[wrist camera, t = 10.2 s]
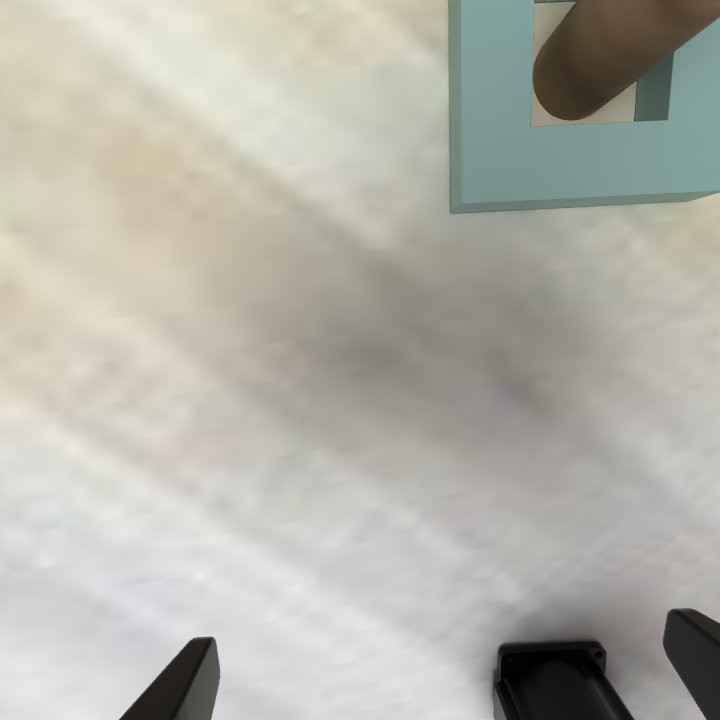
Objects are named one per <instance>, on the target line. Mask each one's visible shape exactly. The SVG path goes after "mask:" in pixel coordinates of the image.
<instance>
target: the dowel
mask: <svg viewBox="0 0 720 720" xmlns="http://www.w3.org/2000/svg"><path fill="white" fill-rule="evenodd" d="M719 17H720V0H577V2H576V3H575V4H574V6H573V7H572V8H571V10H570V11H569V12H568V14H567V15H566V16H565V18H564V19H563V20H562V22H561V23H560V24H559V26H558V27H557V28H556V30H555V31H554V32H553V33H552V35H551V36H550V37H549V39H548V40H547V41H546V43H545V44H544V45H543V47H542V48H541V50H540V52H539V54H538V56H537V59H536V62H535V66H534V72H533V83H534V89H535V93H536V95H537V98H538V100H539V101H540V103H541V105H542V106H543V107H544V108H545V109H546V110H547V111H548V112H549V113H550V114H552V115H553V116H555V117H557V118H560V119H565V120H578V119H582V118H585V117H588V116H590V115H591V114H593V113H595V112H596V111H597V110H599V109H600V108H601V107H602V106H604V105H605V104H606V103H608V102H609V101H610V100H612V99H613V98H614V97H616V96H617V95H618V94H620V93H621V92H622V91H624V90H625V89H626V88H627V87H629V86H630V85H631V84H633V83H634V82H635V81H637V80H638V79H639V78H641V77H642V76H643V75H645V74H646V73H647V72H648V71H650V70H651V69H652V68H654V67H655V66H656V65H658V64H659V63H660V62H662V61H663V60H664V59H666V58H667V57H668V56H670V55H671V54H672V53H673V52H675V51H676V50H677V49H679V48H680V47H681V46H683V45H684V44H685V43H687V42H688V41H689V40H691V39H692V38H693V37H694V36H696V35H697V34H698V33H700V32H701V31H702V30H704V29H705V28H706V27H708V26H709V25H710V24H712V23H713V22H714V21H716V20H717V19H718V18H719Z"/></svg>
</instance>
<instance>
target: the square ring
mask: <svg viewBox="0 0 720 720" xmlns="http://www.w3.org/2000/svg"><path fill="white" fill-rule="evenodd" d="M557 1H577V0H449V109H450V214H451V213H471V212H490V211H510V210H529V209H549V208H568V207H588V206H607V205H626V204H646V203H665V202H685V201H691V200H694V199H698V198H702V197H705V196H709V195H712V194H716V193H719V192H720V17H719V18H718V19H717V20H716V21H714V22H713V23H712V24H710V25H709V26H708V27H706V28H705V29H704V30H702V31H701V32H700V33H698V34H697V35H696V36H694V37H693V38H692V39H691V40H689V41H688V42H687V43H685V44H684V45H683V46H681V47H680V48H679V49H677V50H676V51H675V52H673V53H672V54H671V55H670V56H668V57H667V58H666V59H664V60H663V61H662V62H660V63H659V64H658V65H656V66H655V67H654V68H652V69H651V70H650V71H648V72H647V73H646V74H645V75H643V76H642V77H641V78H639V79H638V84H637V98H636V111H635V122H621V123H602V124H582V125H562V126H542V127H531V94H532V58H533V23H534V3H536V2H557Z"/></svg>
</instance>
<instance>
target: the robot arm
mask: <svg viewBox="0 0 720 720" xmlns="http://www.w3.org/2000/svg"><path fill="white" fill-rule="evenodd" d="M663 647H664V650H665V652H666V655H667V657H668V658H669V660H670V662H671V663H672V665H673V667H674V668H675V670H676V671H677V673H678V675H679V676H680V678H681V679H682V681H683V683H684V684H685V686H686V687H687V689H688V691H689V692H690V694H691V696H692V697H693V699H694V700H695V702H696V704H697V705H698V707H699V708H700V710H701V712H702V713H703V715H704V716H705V718H706V720H720V623H718V622H716V621H714V620H713V619H711V618H709V617H707V616H706V615H704V614H702V613H700V612H698V611H696V610H694V609H690V608H681V609H671V610H670V611H669V612H668V614H667V619H666V625H665V631H664V636H663ZM605 666H606V651H605V649H604V648H603V647H602V645H601V644H600V643H599V642H580V643H563V644H546V645H528V646H511V647H503V648H502V649H500V651H499V654H498V681H496V683H495V685H494V719H495V720H635V719H634V718H633V716H632V715H631V713H630V712H629V710H628V709H627V707H626V706H625V704H624V703H623V701H622V700H621V698H620V697H619V695H618V694H617V692H616V690H615V689H614V687H613V686H612V684H611V683H610V681H609V680H608V678H607V677H606V675H605ZM219 680H220V666H219V659H218V652H217V645H216V640H215V639H214V637H197V638H193V639H192V640H190V641H189V642H188V643H187V644H186V646H185V647H184V648H183V649H182V650H181V651H180V652H179V653H178V654H177V656H176V657H175V658H174V659H173V660H172V661H171V662H170V663H169V664H168V666H167V667H166V668H165V669H164V670H163V671H162V672H161V673H160V674H159V676H158V677H157V678H156V679H155V680H154V681H153V682H152V683H151V684H150V686H149V687H148V688H147V689H146V690H145V691H144V692H143V693H142V694H141V696H140V697H139V698H138V699H137V700H136V701H135V702H134V703H133V704H132V706H131V707H130V708H129V709H128V710H127V711H126V712H125V713H124V715H123V716H122V717H121V718H120V719H119V720H211V718H212V713H213V709H214V704H215V700H216V695H217V691H218V686H219Z"/></svg>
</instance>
